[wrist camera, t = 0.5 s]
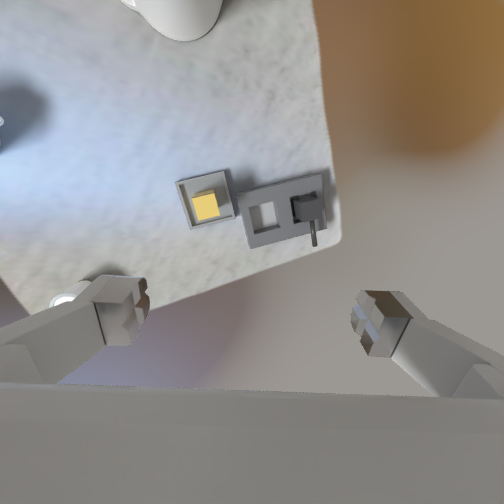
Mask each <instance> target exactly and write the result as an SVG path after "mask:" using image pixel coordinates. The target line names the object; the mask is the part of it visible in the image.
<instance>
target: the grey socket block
mask: <svg viewBox="0 0 504 504" xmlns="http://www.w3.org/2000/svg"><path fill="white" fill-rule="evenodd" d="M236 195H237V199H238V203H239V208H240V212H241V216H242V220H243V224H244V229H245V233H246V237H247V241H248V245H249V247H250V249H253V248H257V247H260V246H264V245H268V244H271V243H275V242H279V241H283V240H286V239H290V238H294V237H297V236H301V235H305V234H309V233H311V237H312V245H313V247H316V246H317V238H316V231H320V230H323V229H327V224H326V214H325V205H324V195H323V186H322V176H321V174H312V175H308V176H304V177H300V178H296V179H292V180H288V181H284V182H280V183H276V184H272V185H267V186H263V187H259V188H255V189H251V190H247V191H243V192H239V193H236Z"/></svg>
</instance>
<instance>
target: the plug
mask: <svg viewBox="0 0 504 504" xmlns="http://www.w3.org/2000/svg"><path fill="white" fill-rule="evenodd" d="M192 202H193V205H194V208H195V211H196V214H197V218H198V221H200V220H204V219H208V218H212V217H215V216H219V215H220V211H219V208H218V204H217V200H216V196H215V193H214V190H213V189H211V190H207V191H203V192H199V193H195V194H194V195H193V197H192Z"/></svg>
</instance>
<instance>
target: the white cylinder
mask: <svg viewBox="0 0 504 504" xmlns="http://www.w3.org/2000/svg"><path fill="white" fill-rule="evenodd" d="M91 283H92V282H91V281H80V282H77V283H75V284H74V285H72V286H71V287H69V288H68V289H66V290H65V291H63V292H62V293H60V294H58V295H57V296H56V297H54V298H53V299H52V300H51V303H50V305H49V307H50V308H51V307H53V306H56V305H58V304H61V303H63V302H66V301H72V300H74V299H75V298H76V297H77V296H78V295H79V294H80V293H81V292H82V291H83V290H84V289H85V288H86V287H87V286H89V285H90V284H91Z"/></svg>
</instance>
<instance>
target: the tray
mask: <svg viewBox="0 0 504 504" xmlns="http://www.w3.org/2000/svg"><path fill="white" fill-rule="evenodd" d="M175 185H176V188H177V191H178V194H179V197H180V200H181V203H182V206H183V209H184V212H185V215H186V218H187V221H188V224H189V227H190V230H192V229H196V228H200V227H204V226H208V225H212V224H216V223H220V222H224V221H227V220H231V219H235V214H234V210H233V206H232V202H231V198H230V194H229V190H228V186H227V182H226V178H225V174H224V171H221V172H217V173H213V174H208V175H204V176H200V177H196V178H191V179H187V180H183V181H179V182H175ZM211 189H213V190H214V193H215V196H216V200H217V204H218V208H219V211H220V215H219V216H215V217H212V218H208V219H204V220H200V221H198V218H197V214H196V211H195V208H194V205H193V202H192V197H193V195H194V194H195V193H199V192H203V191H207V190H211Z"/></svg>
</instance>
